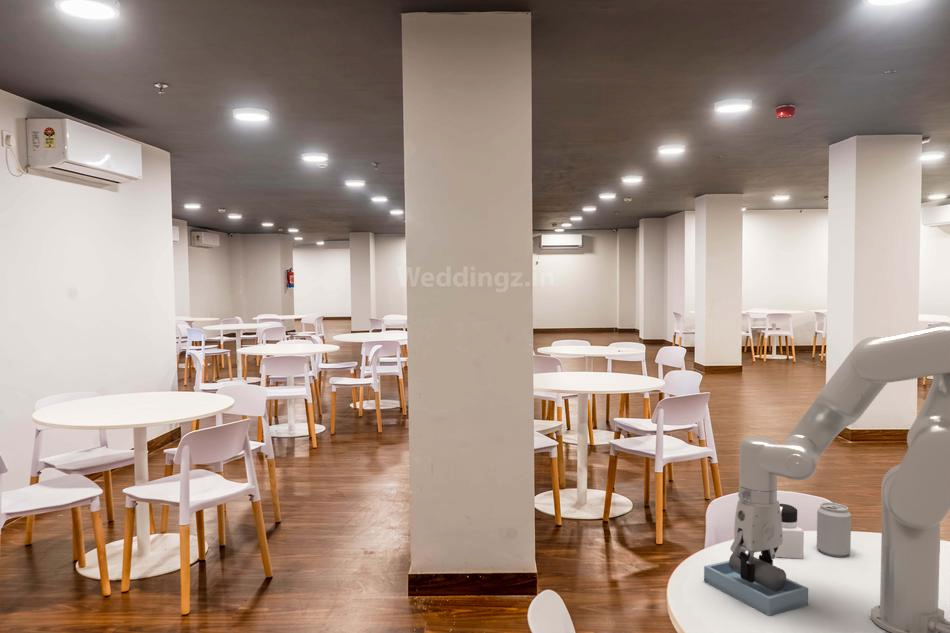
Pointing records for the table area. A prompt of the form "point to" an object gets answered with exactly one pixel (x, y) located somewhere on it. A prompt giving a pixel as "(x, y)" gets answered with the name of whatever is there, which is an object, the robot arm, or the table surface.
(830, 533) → the can
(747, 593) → the trough
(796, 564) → the table surface
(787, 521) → the medicine bottle
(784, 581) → the cylinder
